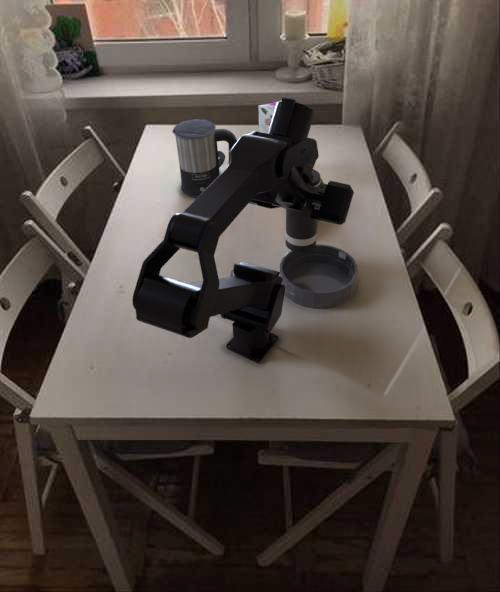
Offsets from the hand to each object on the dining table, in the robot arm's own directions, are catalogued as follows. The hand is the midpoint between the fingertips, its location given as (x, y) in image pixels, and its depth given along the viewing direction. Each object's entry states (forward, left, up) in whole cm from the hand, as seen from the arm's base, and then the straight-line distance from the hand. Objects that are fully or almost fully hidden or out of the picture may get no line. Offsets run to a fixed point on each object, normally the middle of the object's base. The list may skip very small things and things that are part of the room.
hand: (305, 206), depth 100 cm
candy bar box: (+26, +21, -14) cm, 36 cm away
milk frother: (+17, +36, -14) cm, 42 cm away
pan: (-3, -5, -13) cm, 15 cm away
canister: (-1, 0, -7) cm, 7 cm away
